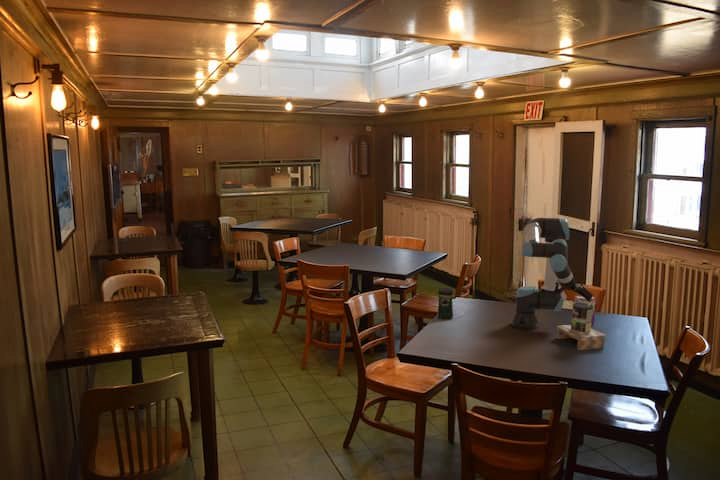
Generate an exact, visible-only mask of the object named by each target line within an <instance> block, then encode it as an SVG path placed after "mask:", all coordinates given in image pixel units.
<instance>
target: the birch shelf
mask: <svg viewBox="0 0 720 480" xmlns="http://www.w3.org/2000/svg"><path fill="white" fill-rule="evenodd" d="M556 339H558V340H563V339H564V340H565V339H575V340H577V344H576V345H577V346H576V349H577V350H579V351H583V350H585V351H586V350H596V349H604V347H605V339H606V334H604V333H602V332H600V331H598V330H596V329H593V328H591V332H590V333H577V332H574V331H572V330H571V324H563V325H556Z"/></svg>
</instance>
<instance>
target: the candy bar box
mask: <svg viewBox="0 0 720 480" xmlns="http://www.w3.org/2000/svg"><path fill="white" fill-rule="evenodd" d="M574 303H586V301H585V298H584V297H583V296H581V295H577V296H576V295H575V296H574ZM596 303H597V298H596V297H593V296H592V298H591V304H590V305H592V306H593V311H592V321H591V326H594V323H595V314H596V313H595V312H596ZM586 304H587V303H586Z"/></svg>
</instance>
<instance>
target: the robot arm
mask: <svg viewBox="0 0 720 480" xmlns="http://www.w3.org/2000/svg"><path fill="white" fill-rule="evenodd" d="M523 235H524V236H525V241H524V242H523V243H522V247H521V248H522V249H521V253H522V254H521V255H522V256H523V257H528V258H543V259H545V269H544V271H545V272H544V283H543V285H542V286H540V287H541V288H540V289H538V287H536V286H533V285H532V286H531V285H526V286H521V287H518V288H517V289H516V293H515V294H516V295H515V309H514V310H515V311H514V314H513V316H512V319H511V326H513V327H514V328H516V329H517V328H518V329H521V330H522V329H523V330H535V329H537V328H538V327H539V321H538V318H537V310H539V311H550V312H560V311H561V310H562V308H563V306H564V303H565V301H566V300H567V298H568V296H567V295H566V294H567V293H565V290H568V291H571V292H574V293H575V294H576V293H577V294H578V295H579V296H580V297H584V298H585V301H586V303H587V305H588V306H589V307H590V304H591V298H592V297H593V296H594V294H592V293H591V292H590V291H589V290H588V289H587V288H586V287H585V286H584V285H583V284H582V283H580V284H577V283H576V280H575V279H576V278H575V277H574V275H573V272H572V271H571V268H570V266H569V259H568V257H569V256H568V253H569V252H568V251H569V250H568V243H567V241H568V240H569V239H570V227H569V221H568V220H567V219H566V218H559V217H536V218H532V219H531V220H529V221H528V222H527V223H526V224H525V225H524V227H523ZM542 239H544V242H542V241H541V240H542Z"/></svg>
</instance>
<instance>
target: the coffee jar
mask: <svg viewBox="0 0 720 480" xmlns="http://www.w3.org/2000/svg"><path fill="white" fill-rule="evenodd" d="M454 296H455V293H454V289H453V288H446V287H440V288H439V289H438V292H437V298H438V304H437V305H438V306H437V314H436V315H437V316H436V317H437V318H438V319H442V320H451V319H453V318H454V307H453V298H454Z"/></svg>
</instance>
